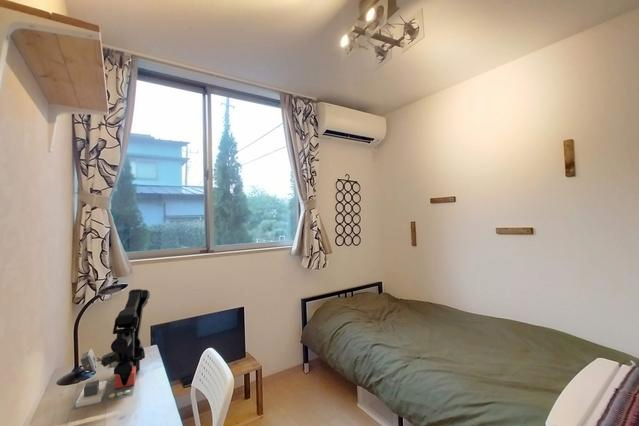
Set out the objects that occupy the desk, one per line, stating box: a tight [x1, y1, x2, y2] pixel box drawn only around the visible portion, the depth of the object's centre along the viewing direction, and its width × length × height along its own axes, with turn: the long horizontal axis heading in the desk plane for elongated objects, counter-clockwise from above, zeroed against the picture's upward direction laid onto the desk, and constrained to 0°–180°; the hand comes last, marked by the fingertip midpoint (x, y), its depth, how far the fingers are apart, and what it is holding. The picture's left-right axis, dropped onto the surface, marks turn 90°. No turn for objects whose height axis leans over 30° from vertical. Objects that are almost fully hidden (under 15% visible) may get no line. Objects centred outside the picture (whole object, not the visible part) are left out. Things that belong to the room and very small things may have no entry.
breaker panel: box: [70, 377, 137, 411], centre depth 119 cm, size 17×19×3 cm
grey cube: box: [83, 379, 100, 397], centre depth 115 cm, size 4×4×4 cm
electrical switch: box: [80, 348, 99, 373], centre depth 139 cm, size 9×5×9 cm, turn 32°
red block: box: [114, 366, 137, 389], centre depth 125 cm, size 7×7×5 cm
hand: (125, 381), depth 125 cm, fingers closed on red block, 7 cm apart
